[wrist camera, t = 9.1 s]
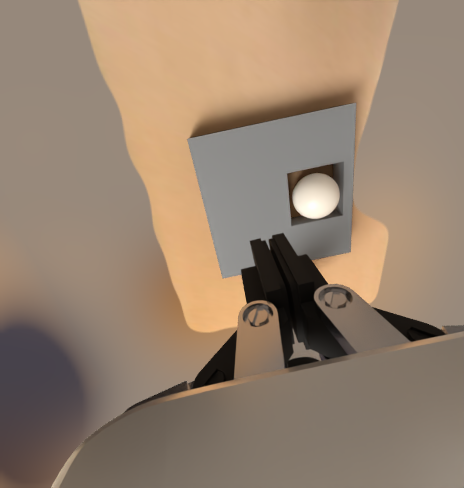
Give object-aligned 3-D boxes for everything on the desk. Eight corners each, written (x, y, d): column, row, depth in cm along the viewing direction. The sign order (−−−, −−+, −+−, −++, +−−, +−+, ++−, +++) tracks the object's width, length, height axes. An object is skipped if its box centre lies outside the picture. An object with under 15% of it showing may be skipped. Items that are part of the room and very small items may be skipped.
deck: (189, 138, 30) (187, 139, 28) (343, 105, 30) (356, 102, 27) (221, 268, 39) (222, 278, 36) (340, 243, 39) (350, 252, 36)
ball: (308, 182, 27) (351, 170, 28) (282, 176, 32) (320, 166, 34) (309, 230, 30) (349, 217, 31) (285, 216, 35) (320, 206, 36)
